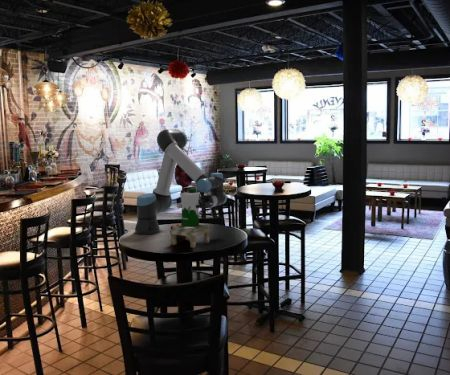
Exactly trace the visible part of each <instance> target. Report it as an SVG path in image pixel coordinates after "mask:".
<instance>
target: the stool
mask: <svg viewBox="0 0 450 375" xmlns="http://www.w3.org/2000/svg"><path fill="white" fill-rule="evenodd" d="M171 228H172V229H169V235H170V241H171V243H170V244H171V245H172V246H175V245H177V236H185V241H189V242H190V244H189V246H190V248H193V249H194V248H196V246H197V244H196V239H197V237H198V236H201V235H204V236H203V237H204V238H203V242H204V243H208V244H209V243H210V232H211V227H209V225H208V224H201V223H199V225H197V226H193V227H187V226H181V224H178V225H175V226H173V227H171Z"/></svg>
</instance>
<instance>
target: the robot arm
mask: <svg viewBox="0 0 450 375" xmlns="http://www.w3.org/2000/svg"><path fill="white" fill-rule="evenodd" d="M156 143H157V146H158V147H159V148H160V150H161V151H162V152H163V157H162V161H161V167H160V170H159V173H158V178H157V183H156V187H155V188H153V189H152V192H148V193H141V194H139V195H138V196H137V197H136V213H137V214H136V215H137V216H136V217H137V221H136V224H135V228H134V233H135V234H137V235H154V234H159V233H160V232H161V230H160V229H161V228H160V225H159V223H158V222H159V221H158V219H157V218H158V216H157V214H158V213H163V212H165V211H167V210H169V209H170V208H171V206H172V204H173V199H172V196H171V195H172V193H171V191H170V190H171V185H172V183H173V182H172V181H173V179H174V178H173V177H174V173H175V170H176V164H177V165H178V166H179V168H180V169H181V170H182V171H184V172H185V173H186V174H187V176H189V178H190V179H192V181H194V183H195V184H196V188H197V189H196V190H198V191H199V192H200V193H207V192H210V194H205V195H202V196H201V197H199V199H198V204H193V205H191V210H194V209H198V210H199V209H212V208H213V207H217V206H221V205H224V204H226V203H227V200H228V197H227V194H226V193H225V192H224V174H223V173H222V172H211V173H210V176H208V175H207V174H205V172H204V171H203V170H202V169H201V168H200V167H199V166H198V165H197V164H196V163H195V162H194V161H193V160H192V159H191V158H190V157H189V156H188V155H187V153H185V151H183V148H185V147H186V146H187V144H188V137H187V135H186V133H185V132H184V131H182V130H180V129H163V130H161V131H160V132H159V133H158V134H157V136H156ZM176 207H177V209H182V201H181V202H178V203H177V204H176Z"/></svg>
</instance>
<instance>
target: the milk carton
mask: <svg viewBox="0 0 450 375" xmlns="http://www.w3.org/2000/svg"><path fill="white" fill-rule="evenodd" d="M200 193H201V192H197V189H196V188H188V191H187V192H186V191H184V192H181V193H179V196H180V199H181V202H182V208H181V224H180V225H181V226H187V227H193V226H197V225H199V224H200V219H199V218H200V215H199V214H200V213H199V208H198V209H194V210H191V205H193V204H198V199H200Z"/></svg>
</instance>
